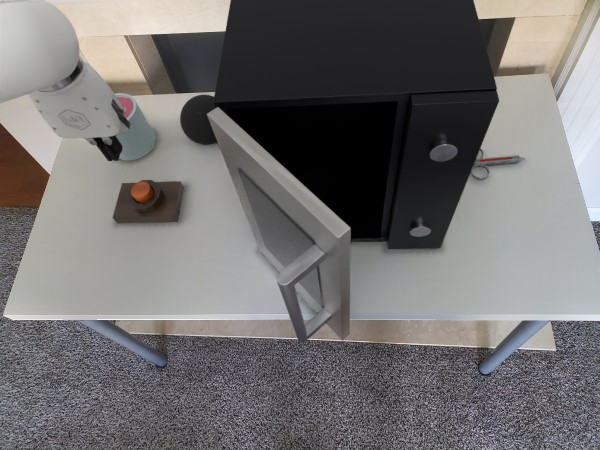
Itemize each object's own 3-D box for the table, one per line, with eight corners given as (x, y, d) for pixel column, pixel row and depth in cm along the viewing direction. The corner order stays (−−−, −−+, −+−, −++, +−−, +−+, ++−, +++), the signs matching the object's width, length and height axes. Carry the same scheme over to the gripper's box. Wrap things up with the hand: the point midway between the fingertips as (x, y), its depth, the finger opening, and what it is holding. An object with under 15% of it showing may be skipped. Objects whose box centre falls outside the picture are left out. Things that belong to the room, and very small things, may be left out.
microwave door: (315, 365, 69) (289, 278, 39) (234, 271, 78) (162, 142, 48) (349, 334, 71) (351, 227, 41) (266, 246, 80) (217, 106, 50)
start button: (151, 202, 83) (147, 197, 81) (132, 203, 83) (128, 198, 82) (155, 186, 85) (151, 181, 83) (136, 187, 85) (133, 182, 83)
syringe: (538, 177, 82) (542, 171, 80) (440, 185, 83) (441, 180, 82) (526, 144, 86) (529, 138, 84) (432, 153, 87) (433, 147, 85)
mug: (164, 134, 96) (145, 100, 87) (137, 166, 92) (115, 133, 84) (116, 116, 100) (94, 82, 92) (89, 145, 97) (64, 112, 88)
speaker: (185, 126, 97) (170, 91, 88) (230, 114, 97) (218, 78, 89) (192, 160, 92) (176, 127, 83) (239, 147, 92) (228, 113, 84)
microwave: (440, 253, 76) (501, 104, 46) (262, 255, 79) (210, 118, 49) (421, 120, 91) (458, -58, 61) (272, 126, 94) (237, -40, 64)
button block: (177, 222, 84) (170, 211, 81) (117, 223, 86) (107, 212, 82) (184, 187, 88) (177, 175, 85) (126, 189, 90) (117, 177, 86)
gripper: (-13, 89, 57) (66, 174, 73) (99, 83, 55) (154, 171, 71) (8, 49, 60) (79, 138, 76) (113, 43, 59) (163, 134, 75)
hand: (115, 153), depth 74 cm, fingers closed
